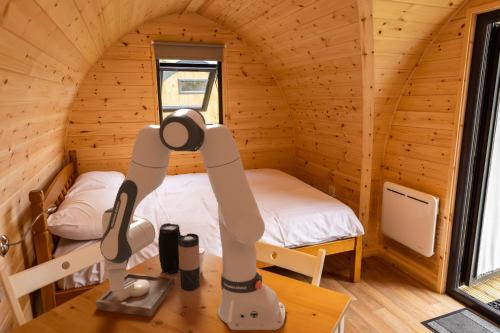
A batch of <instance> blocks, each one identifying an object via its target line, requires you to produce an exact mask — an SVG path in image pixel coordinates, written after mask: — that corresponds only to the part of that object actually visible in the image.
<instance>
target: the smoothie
mask: <svg viewBox="0 0 500 333" xmlns="http://www.w3.org/2000/svg"><path fill="white" fill-rule="evenodd" d="M205 251H206V250H205V248H203V247H201V246H199V259H200V274H201V273H202V272H203V262H204V255H205Z"/></svg>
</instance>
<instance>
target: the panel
mask: <svg viewBox="0 0 500 333" xmlns="http://www.w3.org/2000/svg"><path fill="white" fill-rule="evenodd" d="M135 280H146V281H148V282H149V287H150V290H149V292H148V293H146V294H144V295H142V296H138V297H131V296H130V297H128V298H126V299H124V300H122V301H120V300H118V293H117V292H112V291H111V288H110V287H109V289H108V290H106V292H104V293H103V294H102V295H101V296H100V297H99V298H98V299H96V301H95V309H96V310H98V311H106V312H112V313H120V314H121V313H122V314H128V315H135V316H136V315H137V316H144V317H153V315H154V314H155V313H156V311H157V310H158V308H159V307H160V306H161V304H162V303H163V302H164V301H165V299H166V298H167V297H168V295H169V294H170V292H171V291H172V290H173V289H174V287H175V285H176V277H174V276H165V275H156V274H155V275H154V274H145V273H137V272H136V273H135V272H125V279H124V285H126V284H128V283H130V282H132V281H135Z"/></svg>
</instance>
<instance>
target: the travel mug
mask: <svg viewBox="0 0 500 333" xmlns="http://www.w3.org/2000/svg"><path fill="white" fill-rule="evenodd" d="M178 242H179V282H180V284H179V285H180V289H181V290H182V291H184V292H193V291H197V290H198V289H199V288H200V283H201V282H200V281H201V280H200V279H201V278H200V277H201V273H200V259H199V247H200V237H199V235H198V234H197V233H191V232H190V233H187V234H185V235H182V234H181V236H179V238H178Z"/></svg>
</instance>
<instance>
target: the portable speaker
mask: <svg viewBox="0 0 500 333" xmlns="http://www.w3.org/2000/svg"><path fill="white" fill-rule="evenodd" d="M180 227H181V226H180V225H179V223H178V224H177V223H176V224H174V223H169V222H168V223H167V222H166V223H163V224H162V225H161V226H160V227H159V232H158V241H157V242H158V257H159V258H158V259H159V264H160V268H161V272H162V273H166V274H168V275H169V276H174V275H177V274H178V273H180V271H179V242H178V238H179V236H181V235H182V234H181V231H180V230H181V229H180Z"/></svg>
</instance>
